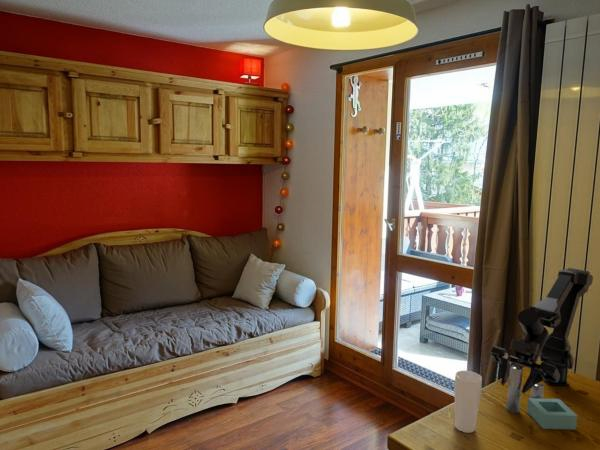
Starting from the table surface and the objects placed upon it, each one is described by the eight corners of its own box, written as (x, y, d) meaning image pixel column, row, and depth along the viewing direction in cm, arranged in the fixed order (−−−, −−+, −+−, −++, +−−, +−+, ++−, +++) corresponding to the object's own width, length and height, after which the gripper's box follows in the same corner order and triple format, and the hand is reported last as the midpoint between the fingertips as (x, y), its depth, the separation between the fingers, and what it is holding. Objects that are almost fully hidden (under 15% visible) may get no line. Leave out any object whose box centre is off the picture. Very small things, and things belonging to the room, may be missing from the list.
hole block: (557, 411, 137) (559, 398, 137) (575, 429, 128) (577, 415, 128) (527, 411, 137) (528, 398, 137) (542, 428, 128) (544, 414, 128)
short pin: (539, 396, 146) (540, 382, 146) (544, 401, 143) (546, 387, 142) (528, 396, 146) (529, 382, 146) (533, 401, 143) (535, 387, 142)
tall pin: (515, 407, 139) (519, 365, 137) (521, 413, 136) (525, 370, 134) (504, 406, 139) (508, 365, 137) (509, 413, 136) (513, 370, 134)
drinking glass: (474, 422, 131) (478, 371, 129) (481, 436, 124) (485, 382, 122) (449, 420, 131) (452, 369, 129) (454, 434, 125) (458, 380, 122)
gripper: (495, 320, 144) (473, 363, 138) (560, 338, 130) (538, 388, 124) (505, 339, 150) (485, 381, 144) (568, 358, 136) (548, 406, 130)
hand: (512, 388), depth 136 cm, fingers open, 6 cm apart
